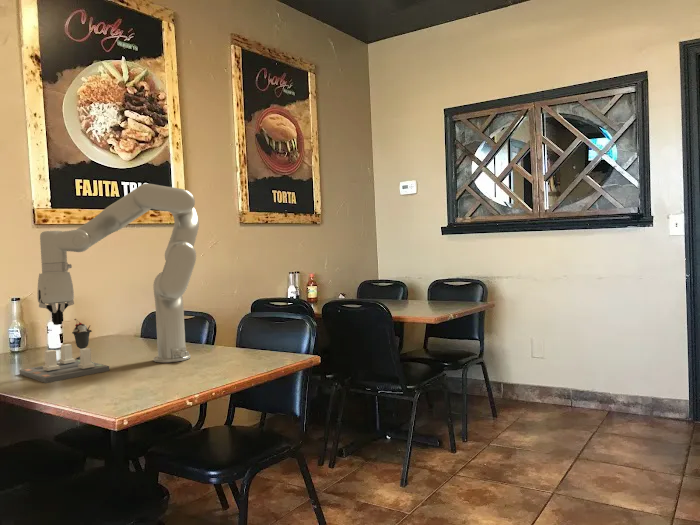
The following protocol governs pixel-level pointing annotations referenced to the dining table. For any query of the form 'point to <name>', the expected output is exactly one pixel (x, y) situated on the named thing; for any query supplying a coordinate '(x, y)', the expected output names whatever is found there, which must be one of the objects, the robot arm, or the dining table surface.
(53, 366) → the breaker mid
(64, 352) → the breaker far
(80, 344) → the sundae
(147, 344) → the dining table surface
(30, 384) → the dining table surface
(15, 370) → the dining table surface
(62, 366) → the console
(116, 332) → the dining table surface
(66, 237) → the robot arm
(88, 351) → the breaker near
